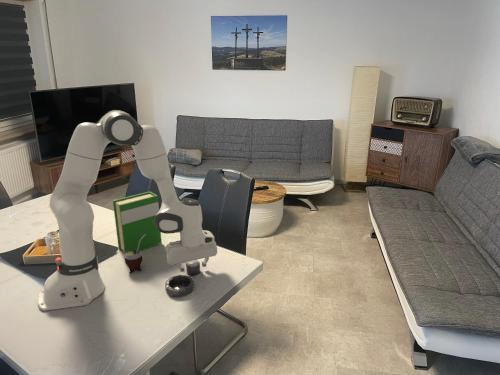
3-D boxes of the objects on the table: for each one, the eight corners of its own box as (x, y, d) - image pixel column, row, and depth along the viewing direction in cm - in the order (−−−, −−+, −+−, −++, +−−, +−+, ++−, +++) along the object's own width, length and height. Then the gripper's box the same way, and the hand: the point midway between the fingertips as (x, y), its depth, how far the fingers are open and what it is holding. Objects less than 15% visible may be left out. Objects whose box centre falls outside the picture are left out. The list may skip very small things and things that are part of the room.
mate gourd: (122, 271, 155) (118, 239, 150) (134, 262, 162) (131, 230, 156) (137, 275, 152) (133, 242, 147) (149, 266, 159) (146, 234, 154)
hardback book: (125, 255, 167) (119, 205, 159) (118, 249, 172) (112, 200, 164) (161, 243, 178) (157, 195, 170) (154, 237, 183) (149, 191, 175)
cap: (188, 277, 151) (188, 267, 150) (185, 270, 156) (184, 260, 155) (201, 274, 154) (201, 264, 152) (197, 267, 158) (197, 258, 157)
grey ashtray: (169, 299, 137) (169, 293, 137) (163, 284, 146) (162, 278, 145) (197, 292, 142) (196, 286, 141) (189, 278, 150) (189, 272, 150)
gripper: (167, 246, 143) (169, 278, 147) (218, 236, 151) (219, 267, 156) (163, 239, 148) (165, 270, 153) (213, 230, 156) (213, 259, 161)
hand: (193, 268), depth 154 cm, fingers open, 8 cm apart
